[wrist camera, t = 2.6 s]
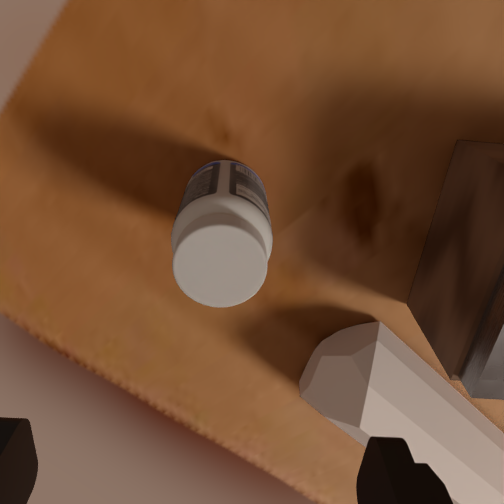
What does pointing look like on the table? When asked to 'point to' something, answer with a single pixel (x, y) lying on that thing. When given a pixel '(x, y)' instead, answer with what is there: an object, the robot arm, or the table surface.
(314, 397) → the crystal
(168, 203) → the table surface
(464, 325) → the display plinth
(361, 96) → the table surface
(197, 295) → the pill bottle
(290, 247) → the table surface
